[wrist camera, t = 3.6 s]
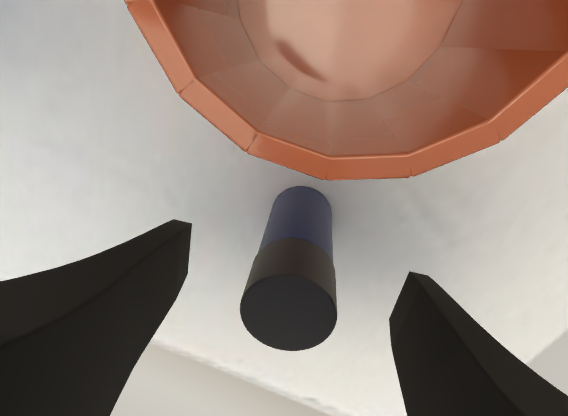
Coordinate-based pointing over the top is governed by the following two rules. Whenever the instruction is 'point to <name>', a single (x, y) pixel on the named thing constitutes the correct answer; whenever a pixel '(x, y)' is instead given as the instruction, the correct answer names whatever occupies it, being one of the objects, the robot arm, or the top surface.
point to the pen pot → (361, 76)
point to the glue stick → (293, 275)
